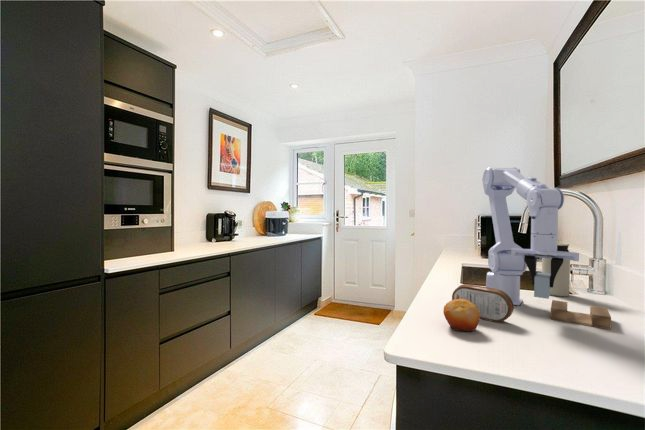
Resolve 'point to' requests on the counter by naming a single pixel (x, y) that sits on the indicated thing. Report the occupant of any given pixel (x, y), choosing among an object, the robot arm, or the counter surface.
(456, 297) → the tin
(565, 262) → the travel mug
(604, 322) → the slot block
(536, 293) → the pale blue tapered bar
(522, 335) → the counter surface
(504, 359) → the counter surface
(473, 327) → the fruit
